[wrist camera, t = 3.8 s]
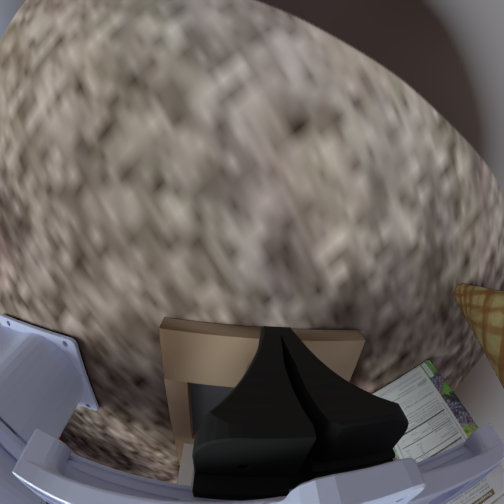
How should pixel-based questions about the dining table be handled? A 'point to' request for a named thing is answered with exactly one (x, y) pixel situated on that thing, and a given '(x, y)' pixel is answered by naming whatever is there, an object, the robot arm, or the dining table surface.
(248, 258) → the dining table surface
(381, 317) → the dining table surface
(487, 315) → the ice cream cone
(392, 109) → the dining table surface
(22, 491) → the robot arm
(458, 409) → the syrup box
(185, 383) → the frame
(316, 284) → the dining table surface
